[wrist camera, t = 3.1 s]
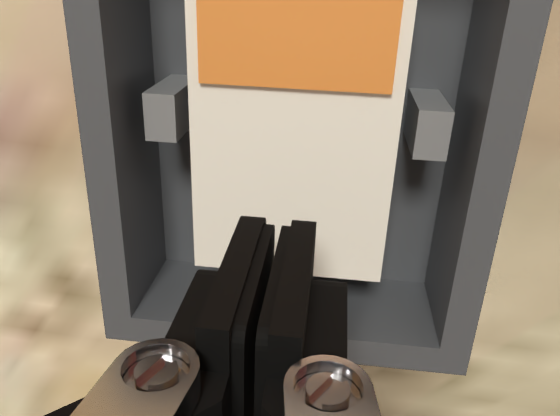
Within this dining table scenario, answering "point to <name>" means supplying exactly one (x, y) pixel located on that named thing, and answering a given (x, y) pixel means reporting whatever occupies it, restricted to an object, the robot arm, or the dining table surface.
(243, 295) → the robot arm
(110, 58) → the switch box
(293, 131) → the rocker
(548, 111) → the dining table surface
